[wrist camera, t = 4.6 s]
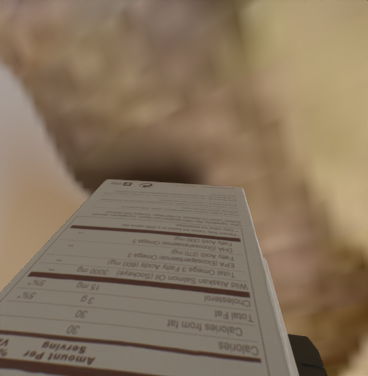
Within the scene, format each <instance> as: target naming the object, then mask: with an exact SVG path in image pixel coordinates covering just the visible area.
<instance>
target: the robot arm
mask: <svg viewBox="0 0 368 376" xmlns="http://www.w3.org/2000/svg"><path fill="white" fill-rule="evenodd" d="M263 261H264V265H265V269H266V272H267V276H268V279H269V283H270V287H271V290H272V294H273V298H274V301H275V305H276V309H277V313H278V317H279V320H280V324H281V328H282V332H283V336H284V340H285V343H286V347H287V351H288V355H289V359H290V363H291V367H292V371H293V375H294V376H327V373H326V371H325V369H324V365H323V363H322V360H321V357H320V354H319V352H318V350H317V349H316V347H315V346H314V345H313V343H312V342H311V341H310V340H309V338H308V337H306V336H298V335H290V334H287V331H286V328H285V324H284V320H283V317H282V313H281V310H280V306H279V303H278V299H277V296H276V292H275V288H274V285H273V281H272V278H271V274H270V271H269V267H268V264H267V260H266V258H263Z"/></svg>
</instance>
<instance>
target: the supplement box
mask: <svg viewBox="0 0 368 376" xmlns="http://www.w3.org/2000/svg"><path fill="white" fill-rule="evenodd" d="M0 376H294V375H293V371H292V367H291V363H290V359H289V355H288V351H287V347H286V343H285V340H284V336H283V332H282V328H281V324H280V320H279V317H278V313H277V309H276V305H275V301H274V298H273V294H272V290H271V287H270V283H269V279H268V276H267V272H266V269H265V265H264V261H263V257H262V254H261V250H260V247H259V243H258V239H257V236H256V232H255V228H254V224H253V221H252V218H251V214H250V210H249V207H248V204H247V201H246V196H245V193H244V190H243V188H242V187H229V186H216V185H200V184H182V183H166V182H151V181H131V180H112V179H108V180H105V181H104V182H103V183H102V185H101V186H100V187H99V188H98V189H97V190H96V191H95V192H94V193H93V194H92V195H91V196H90V197H89V198H88V199H87V200H86V202H85V203H84V204H83V205H82V206H81V207H80V208H79V209H78V210H77V211H76V212H75V213H74V214H73V215H72V216H71V217H70V218H69V220H68V221H67V222H66V223H65V224H64V225H63V226H62V227H61V228H60V229H59V230H58V231H57V232H56V233H55V234H54V236H53V237H52V238H51V239H50V240H49V241H48V242H47V243H46V244H45V245H44V246H43V248H42V249H41V250H40V251H39V252H38V253H37V254H36V255H35V256H34V257H33V258H32V259H31V260H30V261H29V262H28V263H27V264H26V266H25V267H24V268H23V269H22V270H21V271H20V272H19V273H18V274H17V275H16V276H15V277H14V278H13V279H12V280H11V282H10V283H9V284H8V285H7V286H6V287H5V288H4V289H3V290H2V291H1V292H0Z"/></svg>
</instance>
